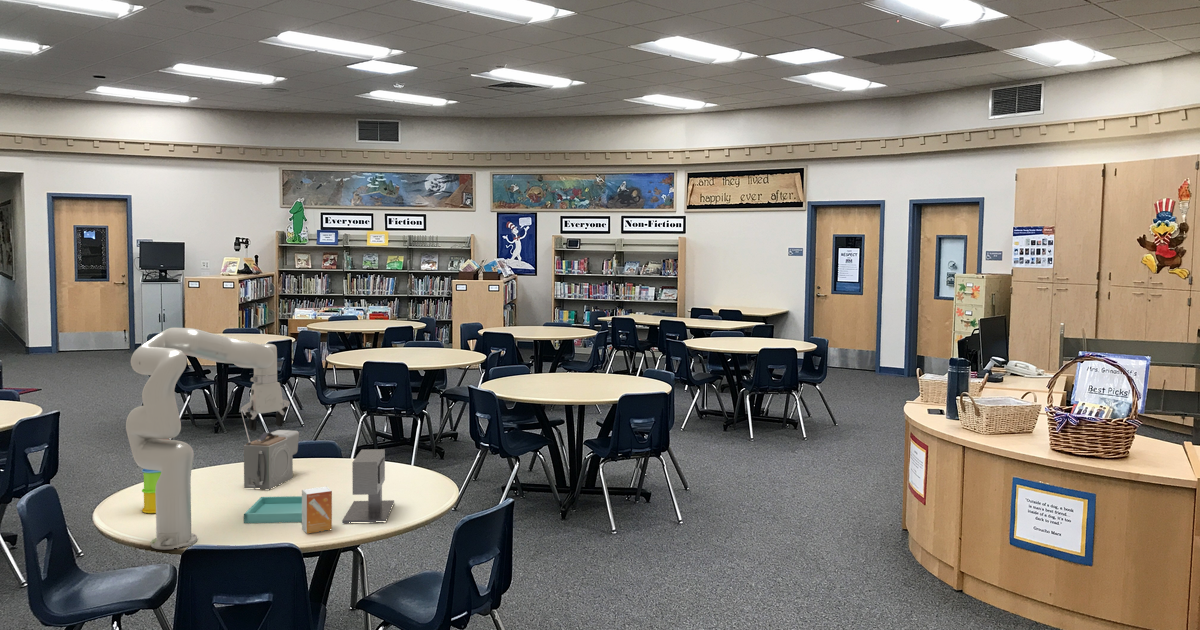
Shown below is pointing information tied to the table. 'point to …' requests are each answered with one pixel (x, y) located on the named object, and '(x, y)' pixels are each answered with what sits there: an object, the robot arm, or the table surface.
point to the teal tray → (275, 510)
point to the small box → (316, 509)
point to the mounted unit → (369, 488)
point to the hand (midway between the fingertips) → (266, 428)
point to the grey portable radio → (269, 458)
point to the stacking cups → (150, 490)
